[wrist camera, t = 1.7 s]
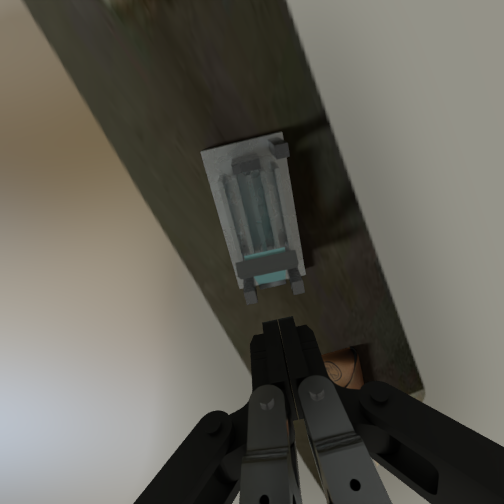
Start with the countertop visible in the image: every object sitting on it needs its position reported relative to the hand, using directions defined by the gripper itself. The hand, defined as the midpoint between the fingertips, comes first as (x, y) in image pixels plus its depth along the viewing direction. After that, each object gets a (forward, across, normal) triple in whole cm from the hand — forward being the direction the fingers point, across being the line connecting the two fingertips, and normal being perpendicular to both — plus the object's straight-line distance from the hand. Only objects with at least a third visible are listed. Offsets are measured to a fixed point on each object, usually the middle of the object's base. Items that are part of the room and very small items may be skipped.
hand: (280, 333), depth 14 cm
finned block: (+24, 0, +2) cm, 24 cm away
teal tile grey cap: (+14, 0, +3) cm, 14 cm away
